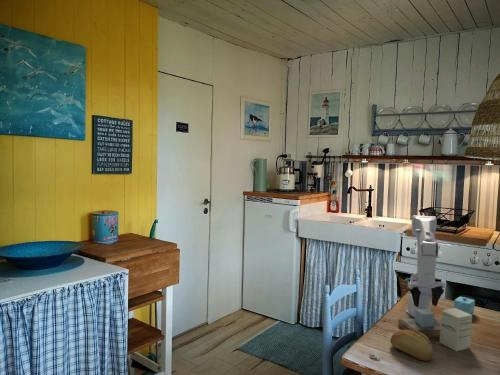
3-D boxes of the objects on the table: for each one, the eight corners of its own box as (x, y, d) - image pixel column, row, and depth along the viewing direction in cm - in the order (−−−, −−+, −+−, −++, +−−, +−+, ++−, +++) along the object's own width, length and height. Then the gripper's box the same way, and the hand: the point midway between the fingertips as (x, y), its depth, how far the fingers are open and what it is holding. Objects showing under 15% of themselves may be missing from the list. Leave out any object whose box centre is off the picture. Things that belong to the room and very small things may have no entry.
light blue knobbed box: (465, 320, 167) (467, 303, 166) (450, 316, 171) (451, 299, 170) (474, 313, 175) (475, 296, 175) (460, 309, 179) (461, 293, 179)
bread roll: (398, 341, 147) (399, 320, 146) (438, 357, 136) (440, 335, 135) (384, 349, 141) (385, 327, 140) (426, 366, 129) (427, 343, 129)
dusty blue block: (414, 321, 158) (415, 309, 157) (426, 321, 158) (427, 308, 158) (421, 326, 153) (422, 314, 152) (433, 326, 153) (434, 313, 153)
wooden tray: (398, 325, 161) (398, 318, 160) (432, 323, 163) (432, 316, 162) (414, 338, 149) (414, 331, 149) (450, 337, 151) (451, 329, 151)
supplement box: (438, 342, 146) (440, 309, 145) (453, 339, 149) (455, 307, 148) (456, 352, 139) (458, 317, 138) (470, 348, 142) (473, 314, 141)
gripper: (415, 275, 149) (413, 310, 150) (450, 274, 151) (448, 309, 152) (405, 269, 156) (403, 303, 157) (439, 269, 158) (437, 302, 159)
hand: (425, 305), depth 155 cm, fingers open, 7 cm apart
